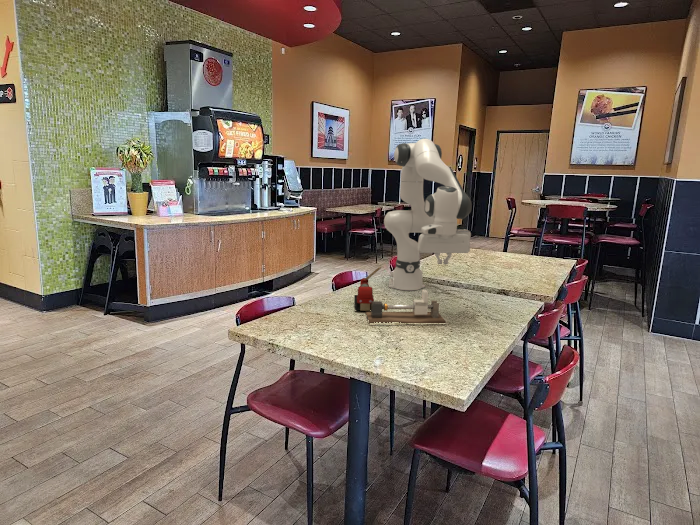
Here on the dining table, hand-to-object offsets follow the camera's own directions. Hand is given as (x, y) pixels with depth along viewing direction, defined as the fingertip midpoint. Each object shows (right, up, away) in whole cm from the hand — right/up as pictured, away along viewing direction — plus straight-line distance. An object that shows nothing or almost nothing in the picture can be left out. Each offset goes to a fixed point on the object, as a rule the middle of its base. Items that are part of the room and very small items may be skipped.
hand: (442, 263), depth 181 cm
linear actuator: (-14, -23, +4) cm, 27 cm away
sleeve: (-8, -20, +4) cm, 22 cm away
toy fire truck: (-29, -19, +19) cm, 40 cm away
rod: (-15, -21, +3) cm, 26 cm away
